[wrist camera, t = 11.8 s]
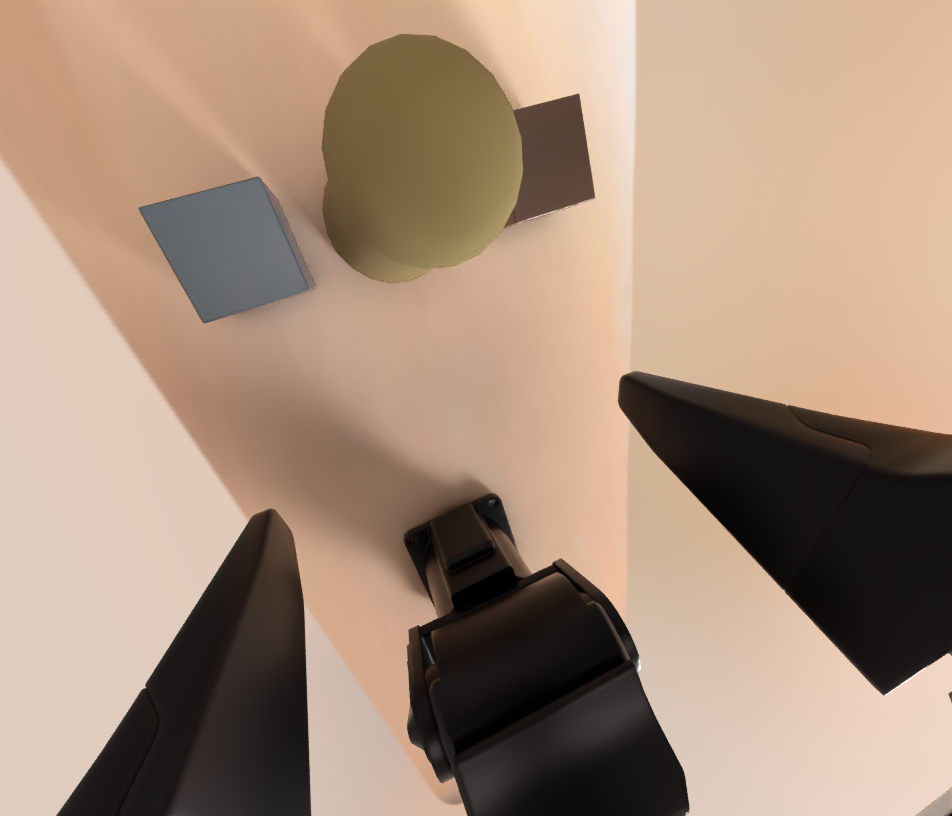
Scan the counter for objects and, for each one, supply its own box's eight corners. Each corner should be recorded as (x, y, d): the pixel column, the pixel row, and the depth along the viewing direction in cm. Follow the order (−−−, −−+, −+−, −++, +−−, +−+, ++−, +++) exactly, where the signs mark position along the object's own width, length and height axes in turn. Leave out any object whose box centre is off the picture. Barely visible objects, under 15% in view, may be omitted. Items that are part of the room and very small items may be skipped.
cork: (403, 308, 20) (461, 333, 10) (295, 223, 18) (232, 149, 8) (474, 211, 20) (602, 143, 10) (373, 111, 17) (412, -114, 7)
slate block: (316, 288, 19) (309, 289, 15) (231, 315, 18) (202, 323, 14) (277, 197, 17) (259, 175, 14) (182, 223, 17) (136, 207, 13)
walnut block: (552, 212, 21) (595, 198, 18) (486, 233, 21) (516, 223, 17) (536, 127, 20) (579, 93, 16) (463, 147, 19) (491, 115, 15)
